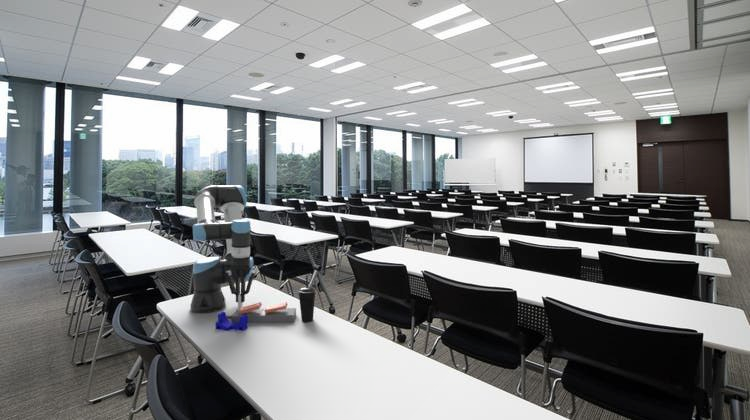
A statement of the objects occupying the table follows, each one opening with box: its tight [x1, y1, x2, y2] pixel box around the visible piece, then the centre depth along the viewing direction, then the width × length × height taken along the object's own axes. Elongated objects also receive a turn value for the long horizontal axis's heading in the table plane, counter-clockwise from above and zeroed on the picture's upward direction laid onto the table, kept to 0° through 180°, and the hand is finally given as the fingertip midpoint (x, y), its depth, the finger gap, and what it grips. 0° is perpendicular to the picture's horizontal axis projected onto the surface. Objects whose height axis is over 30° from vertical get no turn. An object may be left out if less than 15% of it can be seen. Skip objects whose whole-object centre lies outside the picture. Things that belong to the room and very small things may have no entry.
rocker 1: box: [238, 301, 263, 315], centre depth 156 cm, size 9×4×2 cm, turn 92°
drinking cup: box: [297, 275, 317, 323], centre depth 156 cm, size 8×8×20 cm
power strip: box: [226, 307, 297, 324], centre depth 157 cm, size 31×8×3 cm, turn 94°
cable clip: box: [214, 310, 249, 332], centre depth 148 cm, size 12×4×6 cm, turn 75°
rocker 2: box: [264, 301, 288, 313], centre depth 157 cm, size 9×4×2 cm, turn 93°
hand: (240, 309), depth 156 cm, fingers closed
